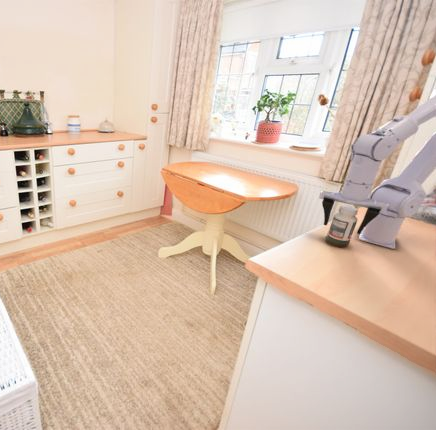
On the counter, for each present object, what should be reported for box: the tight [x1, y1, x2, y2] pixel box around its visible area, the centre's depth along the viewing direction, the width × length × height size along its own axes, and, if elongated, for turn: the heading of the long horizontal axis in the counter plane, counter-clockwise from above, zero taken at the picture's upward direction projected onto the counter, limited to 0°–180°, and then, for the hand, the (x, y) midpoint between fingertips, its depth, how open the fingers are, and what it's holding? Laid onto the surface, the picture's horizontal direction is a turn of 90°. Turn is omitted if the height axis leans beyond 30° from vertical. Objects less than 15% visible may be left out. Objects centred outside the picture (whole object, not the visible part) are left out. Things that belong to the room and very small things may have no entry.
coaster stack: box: [324, 232, 351, 249], centre depth 83 cm, size 6×6×2 cm
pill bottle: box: [327, 205, 359, 241], centre depth 81 cm, size 5×5×9 cm
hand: (341, 228), depth 82 cm, fingers open, 7 cm apart
